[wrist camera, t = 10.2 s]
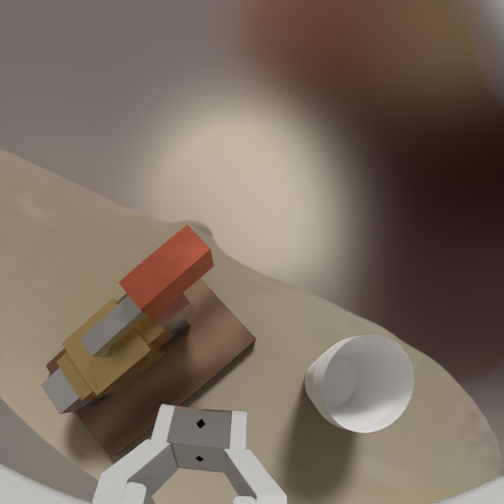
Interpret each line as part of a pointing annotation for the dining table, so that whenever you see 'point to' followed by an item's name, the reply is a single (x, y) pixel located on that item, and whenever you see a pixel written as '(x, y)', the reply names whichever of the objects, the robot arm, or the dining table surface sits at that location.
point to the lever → (152, 288)
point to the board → (168, 372)
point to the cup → (361, 383)
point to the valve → (113, 357)
